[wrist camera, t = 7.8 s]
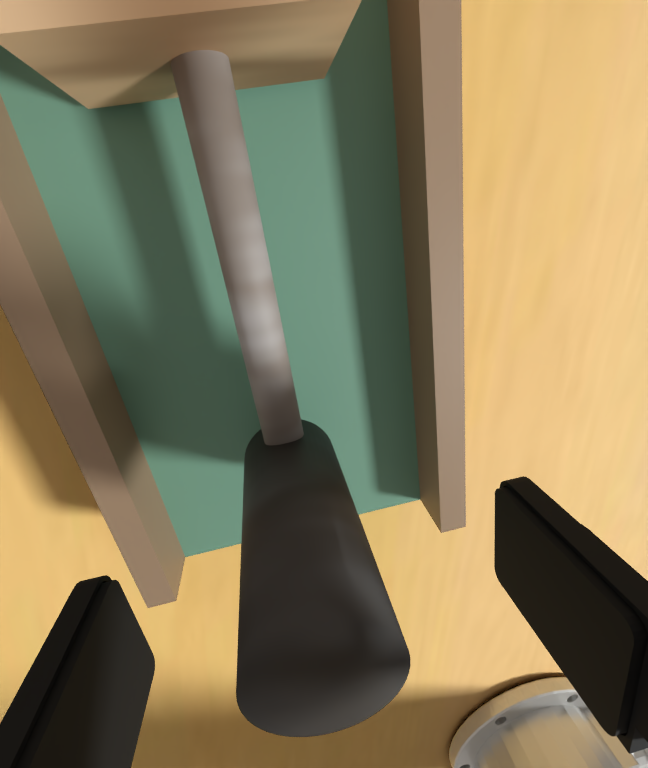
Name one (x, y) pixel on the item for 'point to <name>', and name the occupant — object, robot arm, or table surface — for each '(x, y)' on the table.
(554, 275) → the table surface
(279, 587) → the striker
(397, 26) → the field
